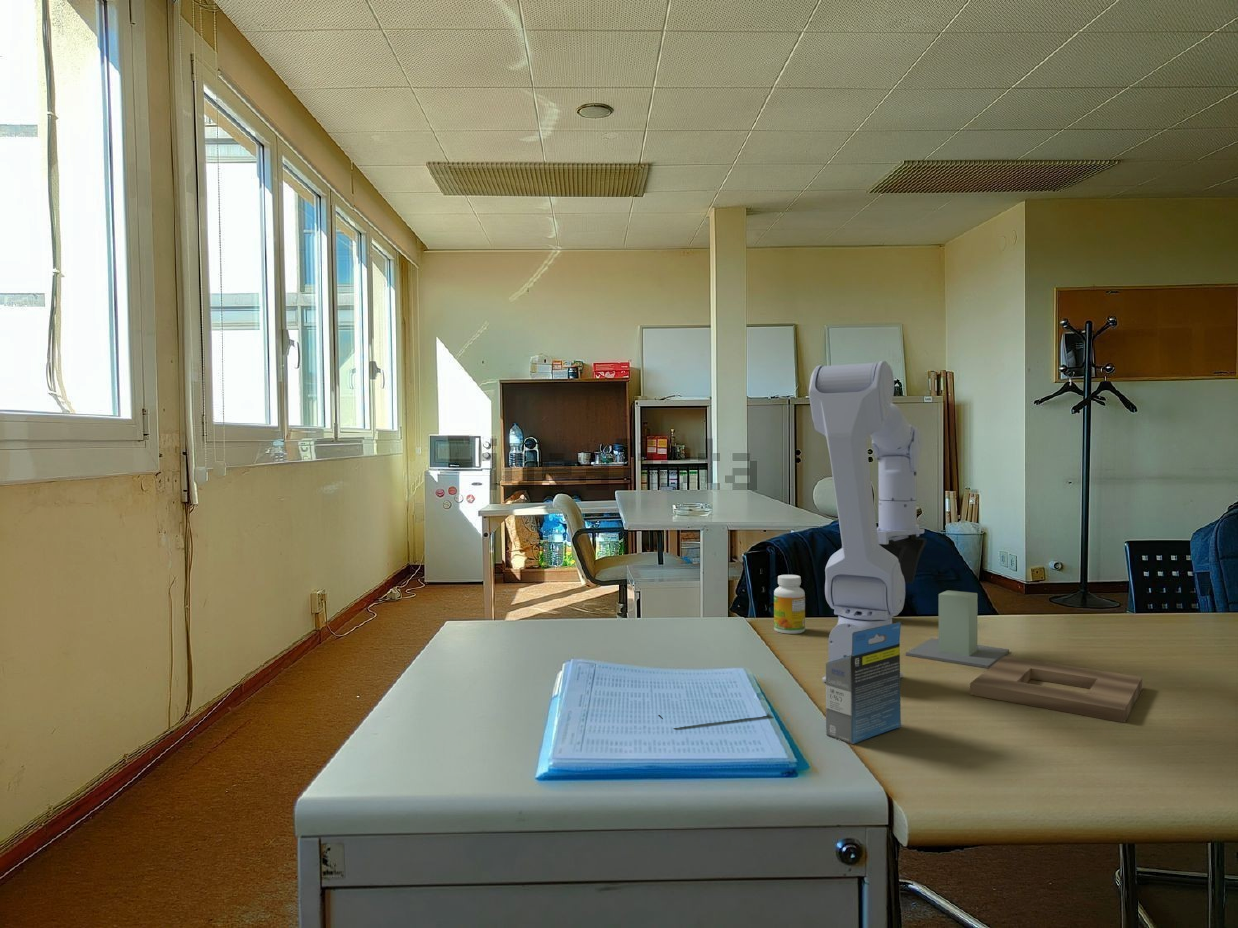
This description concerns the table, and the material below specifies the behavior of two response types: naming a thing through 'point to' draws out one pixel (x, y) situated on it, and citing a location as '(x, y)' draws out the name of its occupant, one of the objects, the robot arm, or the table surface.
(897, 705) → the label tape cartridge
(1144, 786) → the table surface
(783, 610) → the supplement bottle
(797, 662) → the table surface
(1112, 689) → the collar
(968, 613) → the peg
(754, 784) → the table surface
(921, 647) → the pad
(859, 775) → the table surface
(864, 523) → the robot arm
